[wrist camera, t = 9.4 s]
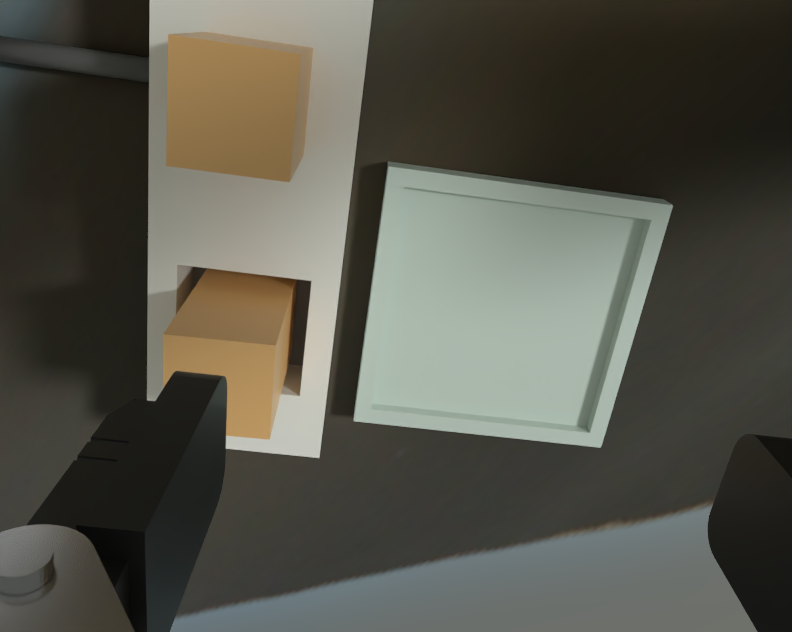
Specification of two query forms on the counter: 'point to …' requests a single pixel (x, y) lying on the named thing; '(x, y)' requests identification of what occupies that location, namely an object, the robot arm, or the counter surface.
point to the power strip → (261, 203)
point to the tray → (503, 304)
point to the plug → (237, 343)
